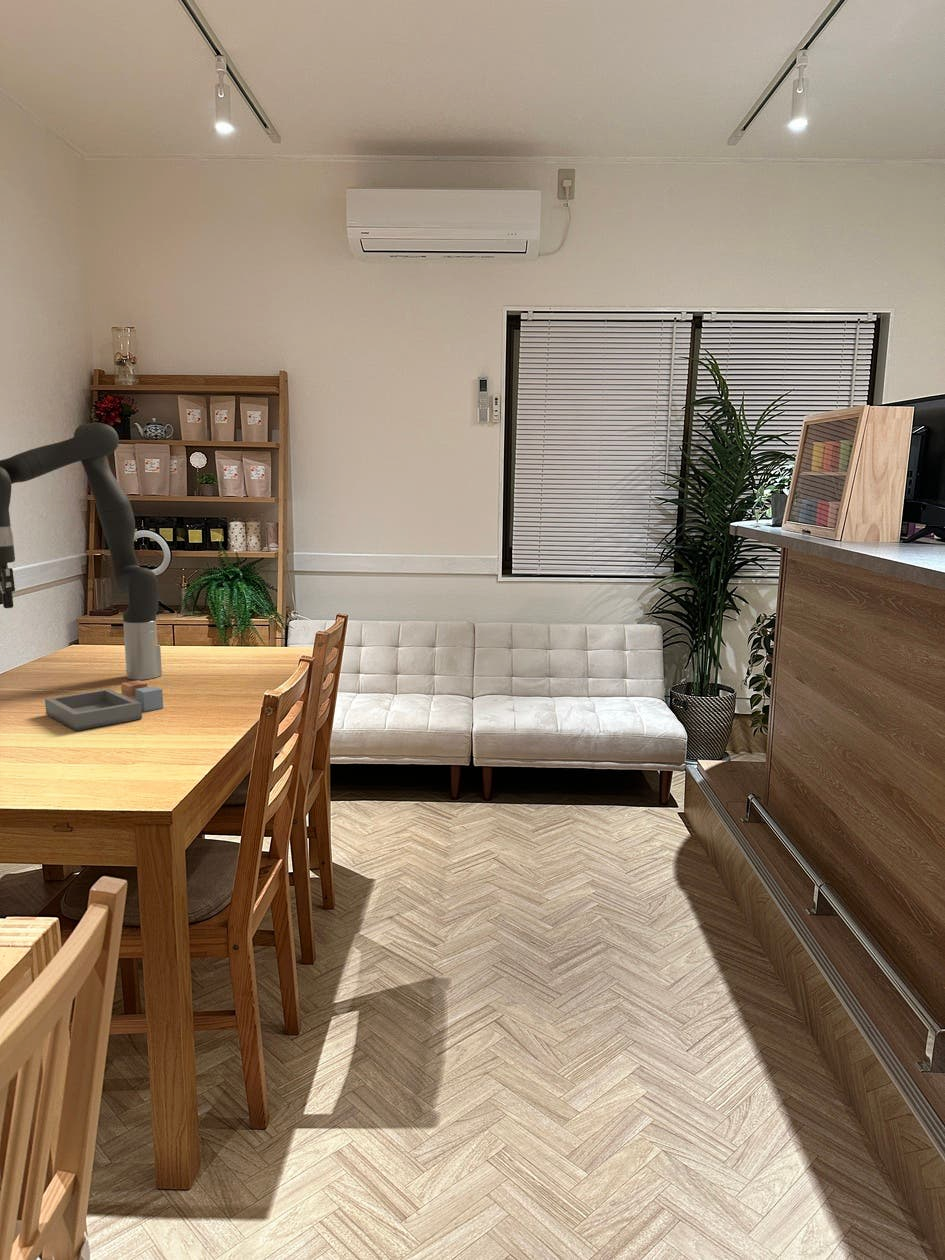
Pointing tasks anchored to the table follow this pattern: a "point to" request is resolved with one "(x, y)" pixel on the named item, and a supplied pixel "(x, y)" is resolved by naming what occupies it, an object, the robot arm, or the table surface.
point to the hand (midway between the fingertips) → (3, 606)
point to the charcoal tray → (93, 709)
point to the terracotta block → (132, 688)
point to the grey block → (149, 698)
